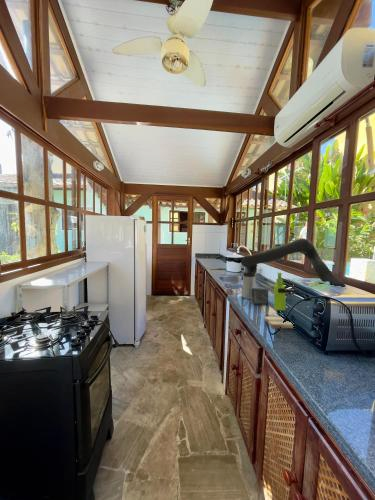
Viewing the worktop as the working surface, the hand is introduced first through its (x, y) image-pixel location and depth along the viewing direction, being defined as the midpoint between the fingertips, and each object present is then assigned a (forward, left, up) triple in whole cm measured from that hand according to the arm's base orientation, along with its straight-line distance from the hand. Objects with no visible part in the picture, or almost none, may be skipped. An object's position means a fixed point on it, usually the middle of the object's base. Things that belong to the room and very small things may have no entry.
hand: (275, 289), depth 124 cm
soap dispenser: (+2, +2, -11) cm, 11 cm away
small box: (-23, +29, -20) cm, 42 cm away
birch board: (+2, +2, -20) cm, 20 cm away
